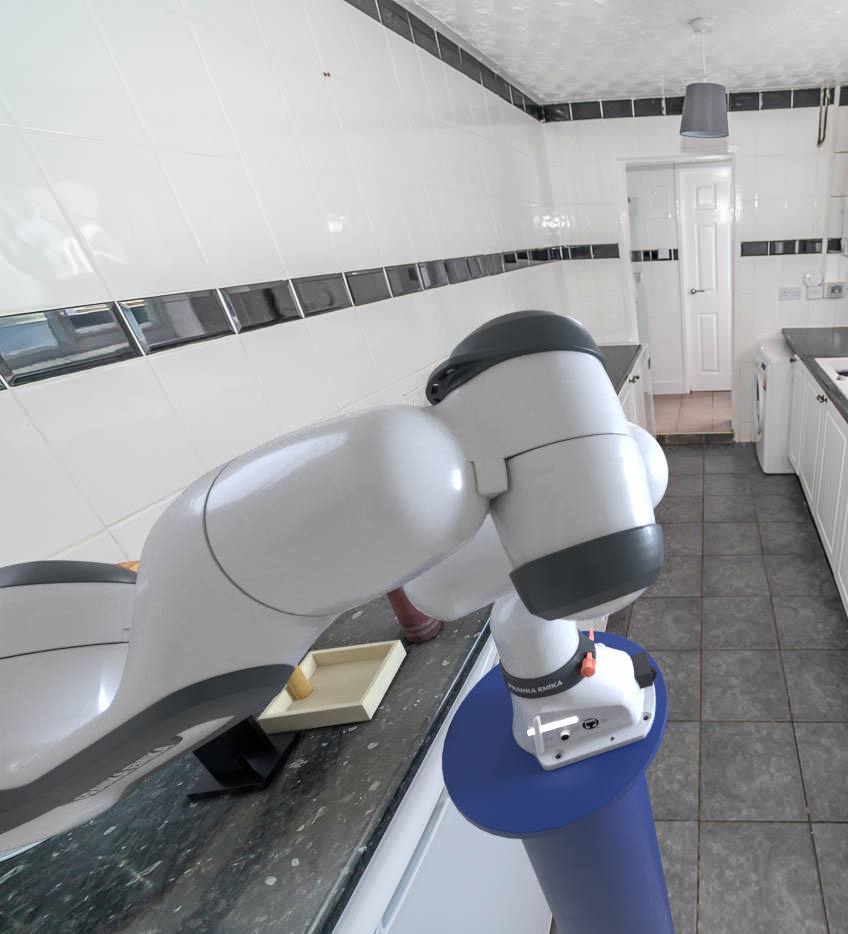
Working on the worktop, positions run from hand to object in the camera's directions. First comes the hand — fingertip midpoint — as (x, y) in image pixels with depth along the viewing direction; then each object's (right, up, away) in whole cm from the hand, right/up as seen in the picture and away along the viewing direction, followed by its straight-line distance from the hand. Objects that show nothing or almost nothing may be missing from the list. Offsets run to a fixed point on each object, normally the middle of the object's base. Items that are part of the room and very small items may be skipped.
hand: (207, 659), depth 55 cm
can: (+3, -10, +39) cm, 41 cm away
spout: (-8, -17, +27) cm, 33 cm away
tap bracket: (-10, -22, +16) cm, 30 cm away
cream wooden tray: (-5, -16, +28) cm, 32 cm away
